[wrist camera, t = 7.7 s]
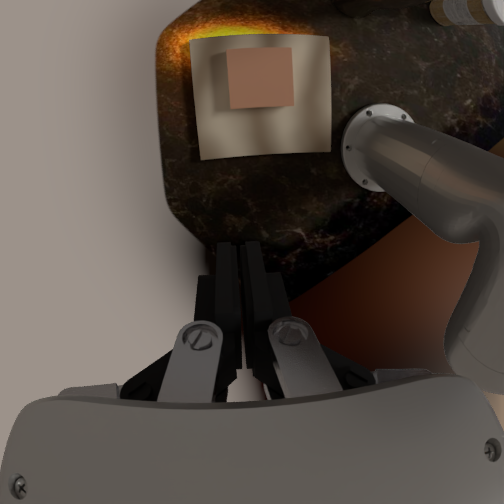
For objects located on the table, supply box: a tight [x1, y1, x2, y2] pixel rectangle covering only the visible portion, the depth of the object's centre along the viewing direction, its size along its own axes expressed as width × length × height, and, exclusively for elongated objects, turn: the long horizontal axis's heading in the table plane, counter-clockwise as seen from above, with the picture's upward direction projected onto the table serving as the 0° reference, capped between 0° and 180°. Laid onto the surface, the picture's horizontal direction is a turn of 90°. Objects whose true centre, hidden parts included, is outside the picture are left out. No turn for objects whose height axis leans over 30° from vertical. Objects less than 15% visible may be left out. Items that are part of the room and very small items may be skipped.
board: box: [189, 34, 331, 160], centre depth 30 cm, size 16×15×1 cm
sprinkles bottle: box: [430, 0, 504, 26], centre depth 17 cm, size 5×5×14 cm
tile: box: [226, 47, 294, 109], centre depth 28 cm, size 2×7×7 cm
